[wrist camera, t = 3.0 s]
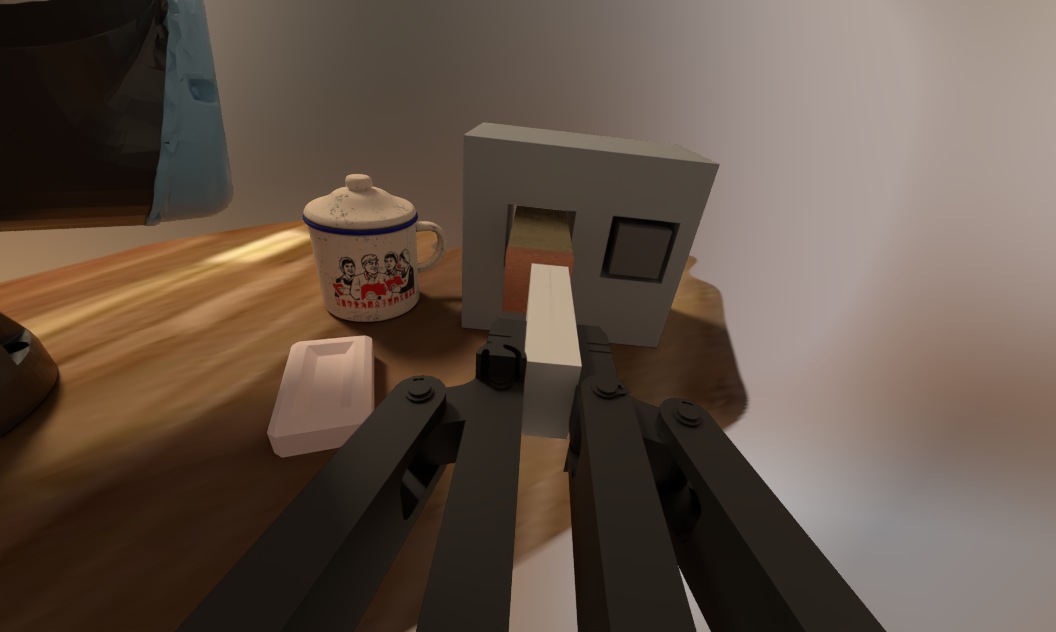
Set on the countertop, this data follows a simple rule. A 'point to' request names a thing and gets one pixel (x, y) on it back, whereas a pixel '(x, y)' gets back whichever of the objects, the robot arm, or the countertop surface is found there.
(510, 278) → the plunger
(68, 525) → the countertop surface
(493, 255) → the panel
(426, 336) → the countertop surface
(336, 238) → the teacup with lid
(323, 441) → the soap bar
